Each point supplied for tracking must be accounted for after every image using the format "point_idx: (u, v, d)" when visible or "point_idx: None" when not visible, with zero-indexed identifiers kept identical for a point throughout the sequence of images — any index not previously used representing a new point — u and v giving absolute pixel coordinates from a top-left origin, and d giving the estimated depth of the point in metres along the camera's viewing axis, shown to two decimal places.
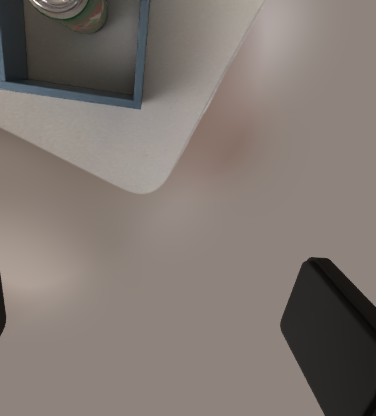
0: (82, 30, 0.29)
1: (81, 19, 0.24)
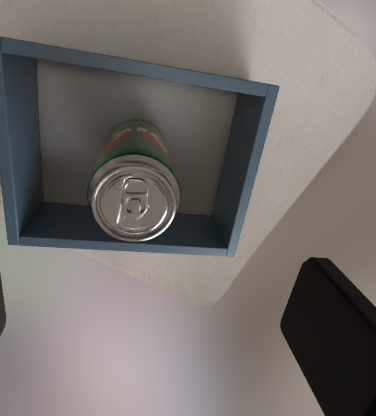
0: None
1: (172, 166, 0.17)
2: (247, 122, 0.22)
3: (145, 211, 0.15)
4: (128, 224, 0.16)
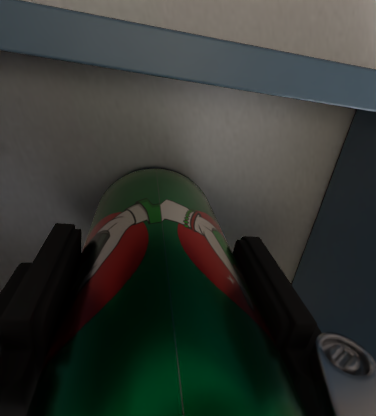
0: None
1: (297, 393, 0.05)
2: None
3: None
4: None
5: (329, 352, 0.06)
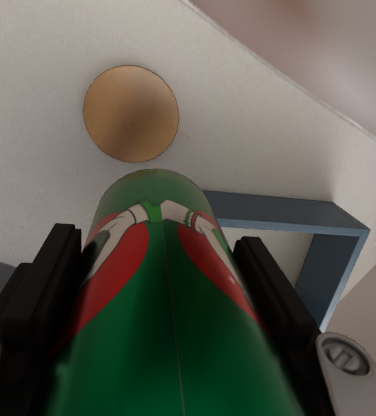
0: None
1: (298, 394, 0.05)
2: (337, 242, 0.29)
3: None
4: None
5: (329, 352, 0.06)
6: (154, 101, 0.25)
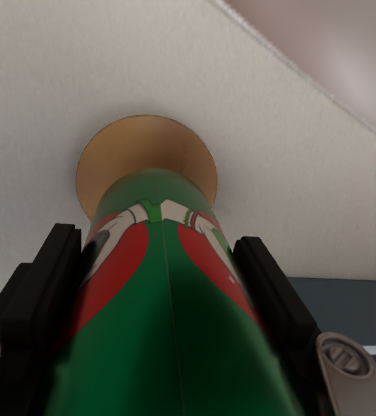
0: None
1: (298, 393, 0.05)
2: None
3: None
4: None
5: (329, 352, 0.06)
6: (183, 166, 0.17)
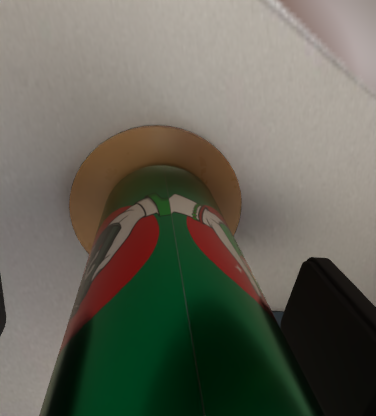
0: None
1: (303, 373, 0.05)
2: None
3: None
4: None
5: None
6: None
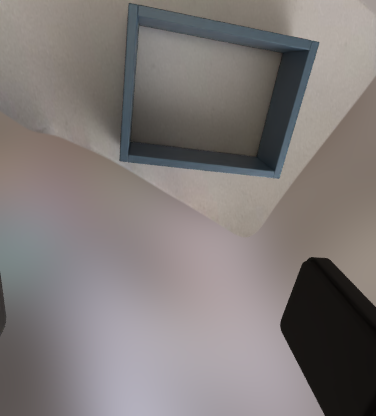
0: None
1: None
2: (292, 73, 0.30)
3: None
4: None
5: None
6: None
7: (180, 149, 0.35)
